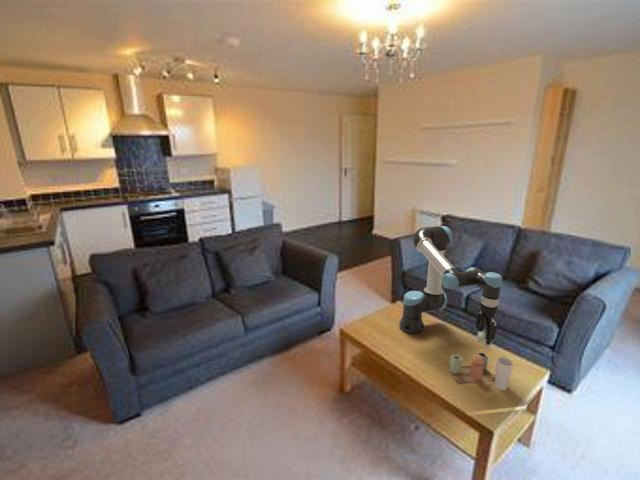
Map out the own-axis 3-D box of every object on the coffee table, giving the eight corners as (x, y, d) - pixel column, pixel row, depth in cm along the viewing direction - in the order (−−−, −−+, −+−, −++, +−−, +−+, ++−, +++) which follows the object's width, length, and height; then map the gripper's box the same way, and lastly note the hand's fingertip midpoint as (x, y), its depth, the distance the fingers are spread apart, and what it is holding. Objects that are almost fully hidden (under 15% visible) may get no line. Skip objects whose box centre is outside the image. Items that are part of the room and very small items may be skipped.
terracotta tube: (469, 375, 167) (471, 361, 164) (477, 374, 167) (479, 360, 165) (474, 380, 163) (476, 366, 161) (481, 379, 163) (483, 365, 161)
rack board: (445, 369, 173) (445, 367, 172) (482, 366, 175) (482, 364, 175) (457, 386, 161) (458, 384, 161) (496, 382, 163) (497, 380, 163)
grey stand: (474, 366, 173) (476, 352, 171) (481, 365, 174) (483, 352, 171) (478, 371, 169) (480, 357, 167) (486, 370, 170) (488, 357, 168)
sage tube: (449, 368, 172) (450, 355, 169) (456, 368, 172) (458, 354, 170) (453, 373, 168) (454, 360, 166) (460, 373, 168) (462, 359, 166)
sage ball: (475, 338, 170) (477, 329, 168) (485, 337, 170) (486, 329, 169) (481, 344, 165) (482, 335, 163) (491, 343, 165) (492, 334, 164)
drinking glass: (489, 383, 162) (493, 357, 158) (503, 382, 163) (507, 356, 159) (497, 394, 156) (502, 366, 152) (511, 392, 156) (516, 365, 152)
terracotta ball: (469, 361, 165) (471, 352, 164) (479, 360, 166) (480, 352, 164) (475, 368, 160) (476, 359, 159) (485, 367, 161) (486, 358, 159)
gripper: (471, 296, 169) (466, 336, 176) (493, 314, 152) (486, 357, 159) (485, 295, 170) (479, 335, 177) (508, 313, 153) (500, 356, 160)
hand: (482, 345), depth 168 cm, fingers closed on sage ball, 5 cm apart
